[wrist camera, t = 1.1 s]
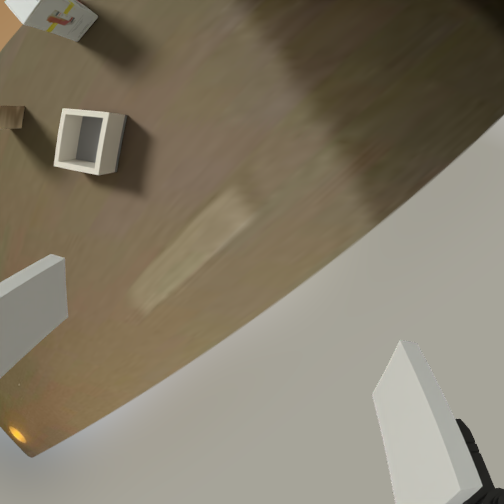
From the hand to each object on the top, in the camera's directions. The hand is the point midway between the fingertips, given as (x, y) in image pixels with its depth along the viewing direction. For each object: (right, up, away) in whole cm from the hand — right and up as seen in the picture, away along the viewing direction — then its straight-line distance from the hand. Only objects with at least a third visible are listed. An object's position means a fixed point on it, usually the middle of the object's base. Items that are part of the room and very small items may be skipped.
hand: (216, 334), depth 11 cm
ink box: (-24, +37, +20) cm, 48 cm away
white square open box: (-19, +17, +26) cm, 36 cm away
